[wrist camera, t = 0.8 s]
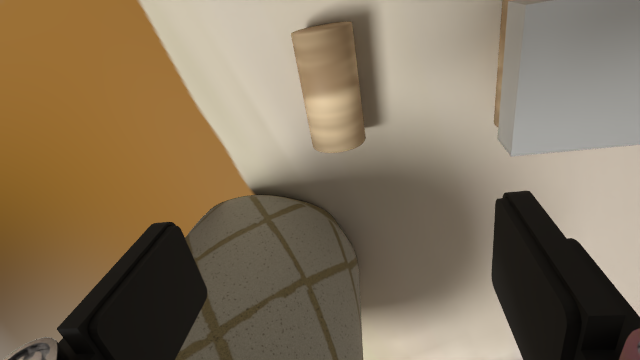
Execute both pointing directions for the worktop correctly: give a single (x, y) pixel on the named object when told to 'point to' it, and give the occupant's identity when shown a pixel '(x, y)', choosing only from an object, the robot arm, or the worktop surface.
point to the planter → (274, 284)
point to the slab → (570, 76)
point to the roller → (330, 86)
